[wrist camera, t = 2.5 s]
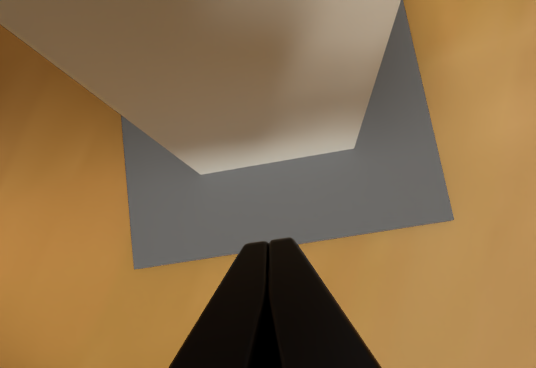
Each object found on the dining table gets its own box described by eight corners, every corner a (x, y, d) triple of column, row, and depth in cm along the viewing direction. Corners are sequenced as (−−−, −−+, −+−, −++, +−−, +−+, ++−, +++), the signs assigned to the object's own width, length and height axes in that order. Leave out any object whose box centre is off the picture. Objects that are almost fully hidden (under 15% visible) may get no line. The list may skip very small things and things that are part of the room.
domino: (353, 148, 16) (447, -144, 5) (200, 174, 17) (-69, -28, 5) (346, 108, 17) (414, -259, 5) (195, 136, 17) (-69, -139, 5)
